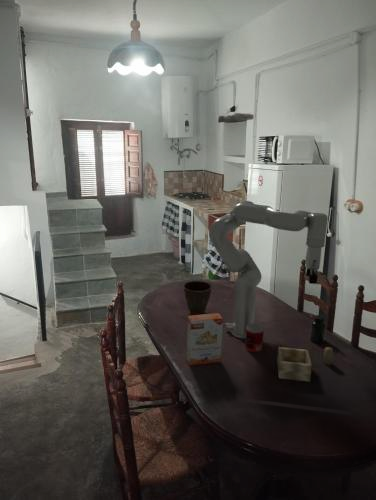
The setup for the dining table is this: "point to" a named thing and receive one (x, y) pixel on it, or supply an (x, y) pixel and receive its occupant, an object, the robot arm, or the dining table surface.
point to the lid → (327, 356)
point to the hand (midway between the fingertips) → (311, 279)
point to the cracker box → (204, 339)
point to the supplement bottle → (318, 329)
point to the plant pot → (197, 296)
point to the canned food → (254, 337)
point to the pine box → (294, 364)
